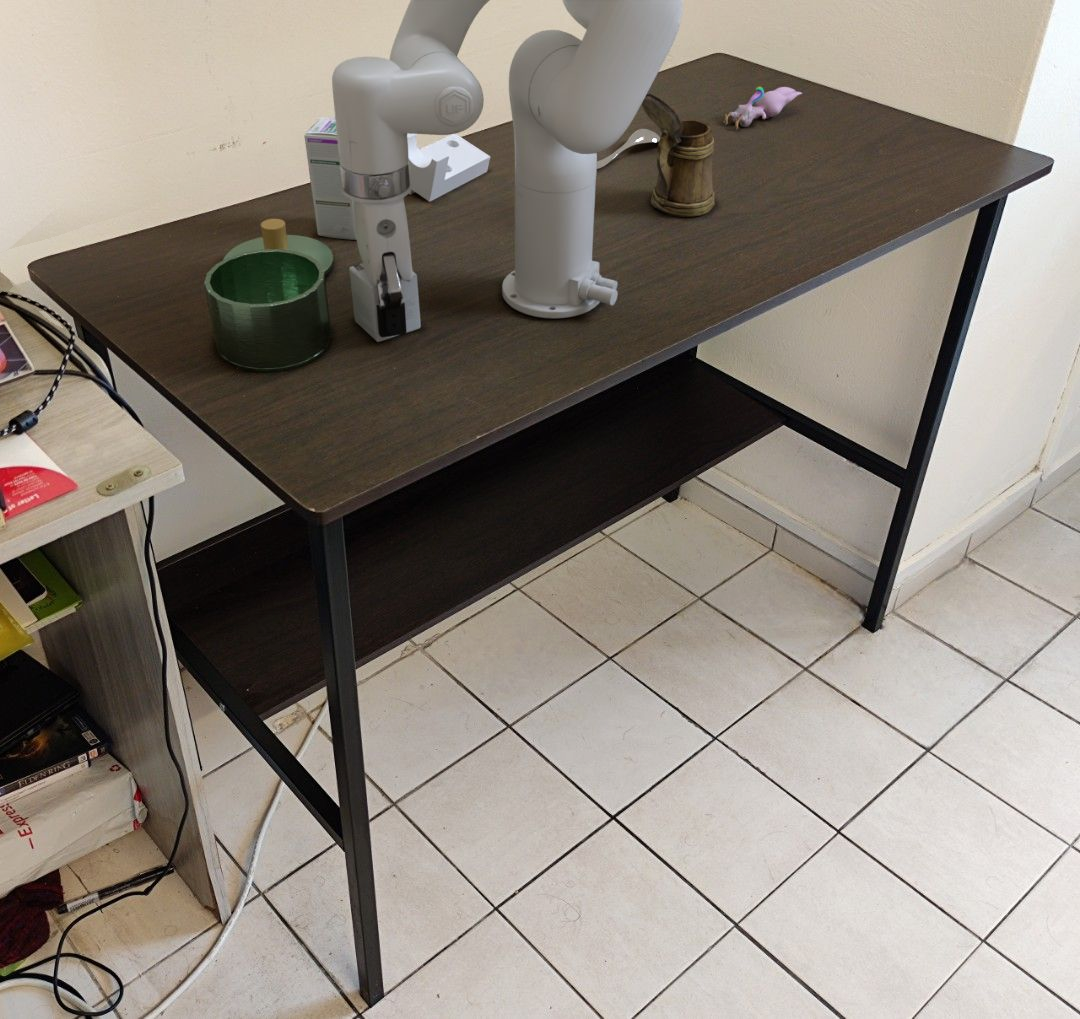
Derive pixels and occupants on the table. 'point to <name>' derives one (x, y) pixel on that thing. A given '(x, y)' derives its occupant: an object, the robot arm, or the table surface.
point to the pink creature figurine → (762, 105)
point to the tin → (269, 309)
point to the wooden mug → (681, 162)
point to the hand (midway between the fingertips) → (385, 316)
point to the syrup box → (328, 182)
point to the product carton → (368, 301)
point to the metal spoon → (632, 144)
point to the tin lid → (286, 243)
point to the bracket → (443, 165)
